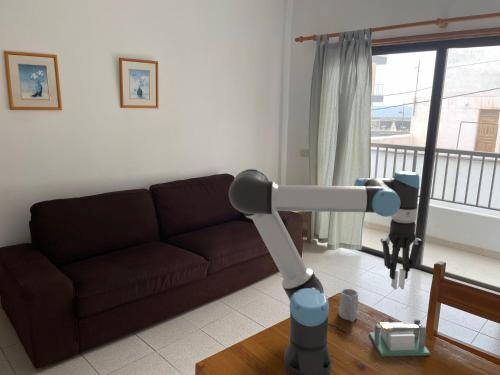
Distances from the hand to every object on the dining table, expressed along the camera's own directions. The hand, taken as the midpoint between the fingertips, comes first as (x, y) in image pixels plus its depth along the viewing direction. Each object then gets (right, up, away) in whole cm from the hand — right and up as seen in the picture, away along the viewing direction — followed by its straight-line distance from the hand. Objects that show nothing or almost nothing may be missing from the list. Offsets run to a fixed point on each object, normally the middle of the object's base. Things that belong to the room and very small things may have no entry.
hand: (397, 287), depth 128 cm
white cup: (-11, -17, +20) cm, 29 cm away
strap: (+3, -15, +3) cm, 15 cm away
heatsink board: (+2, -21, +4) cm, 21 cm away
